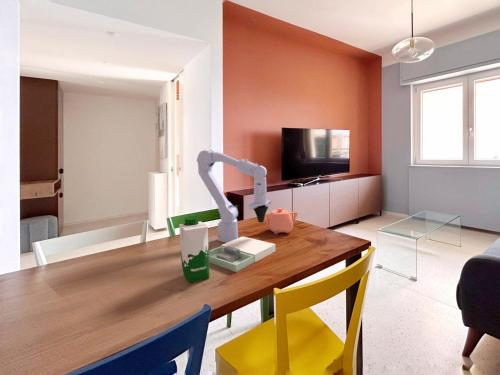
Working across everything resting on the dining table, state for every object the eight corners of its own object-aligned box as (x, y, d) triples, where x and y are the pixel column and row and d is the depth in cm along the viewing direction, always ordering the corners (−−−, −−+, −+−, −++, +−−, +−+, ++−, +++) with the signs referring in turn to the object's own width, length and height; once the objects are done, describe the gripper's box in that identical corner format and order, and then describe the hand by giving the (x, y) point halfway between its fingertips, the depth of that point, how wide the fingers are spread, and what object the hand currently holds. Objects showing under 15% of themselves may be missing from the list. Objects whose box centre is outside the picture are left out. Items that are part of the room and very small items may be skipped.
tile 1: (223, 251, 106) (224, 257, 106) (216, 255, 103) (216, 261, 103) (235, 255, 102) (235, 261, 102) (227, 258, 99) (228, 264, 99)
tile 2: (228, 255, 108) (224, 257, 106) (228, 246, 108) (224, 247, 106) (239, 259, 104) (235, 261, 102) (239, 249, 104) (235, 251, 102)
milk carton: (204, 268, 98) (201, 214, 95) (213, 278, 90) (210, 220, 87) (180, 274, 93) (176, 218, 91) (186, 285, 86) (183, 224, 83)
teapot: (257, 228, 145) (257, 206, 144) (293, 226, 148) (293, 205, 146) (262, 236, 132) (261, 212, 130) (301, 234, 135) (301, 210, 133)
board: (221, 251, 113) (221, 245, 113) (243, 242, 124) (242, 236, 124) (255, 262, 102) (254, 254, 102) (275, 251, 113) (275, 244, 112)
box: (202, 260, 105) (201, 253, 105) (220, 252, 113) (220, 246, 113) (236, 272, 94) (236, 265, 94) (254, 262, 102) (254, 256, 101)
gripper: (257, 195, 114) (258, 226, 115) (276, 191, 125) (276, 219, 127) (244, 194, 118) (245, 224, 120) (264, 190, 129) (264, 217, 131)
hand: (260, 221), depth 124 cm, fingers closed
